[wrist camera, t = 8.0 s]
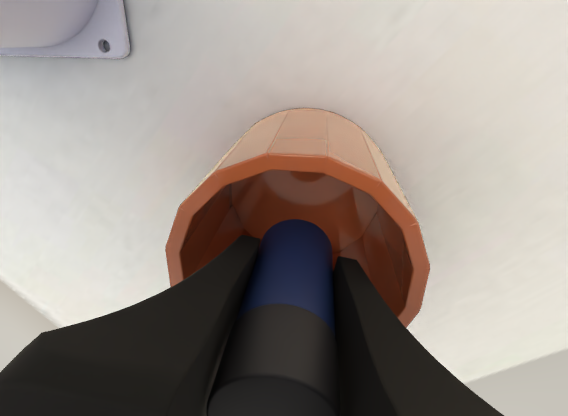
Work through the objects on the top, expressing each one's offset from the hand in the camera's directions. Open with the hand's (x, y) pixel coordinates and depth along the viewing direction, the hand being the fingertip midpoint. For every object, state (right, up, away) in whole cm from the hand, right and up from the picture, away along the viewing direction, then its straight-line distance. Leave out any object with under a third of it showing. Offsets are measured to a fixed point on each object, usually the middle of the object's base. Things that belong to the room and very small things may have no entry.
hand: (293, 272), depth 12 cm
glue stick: (0, +1, +1) cm, 1 cm away
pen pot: (+1, +3, +6) cm, 7 cm away
